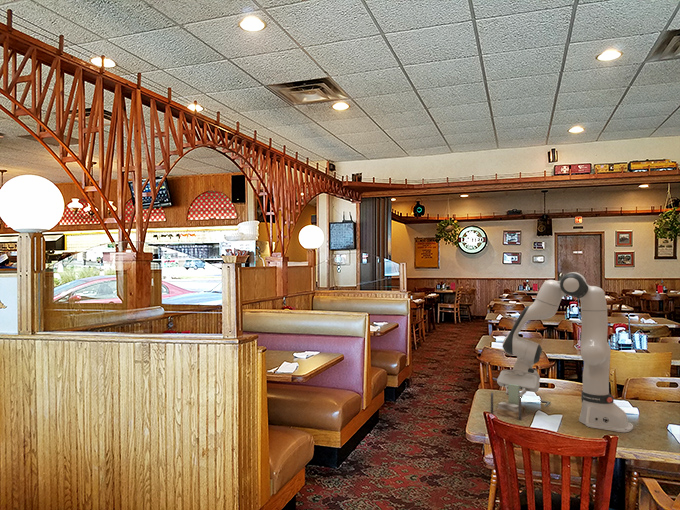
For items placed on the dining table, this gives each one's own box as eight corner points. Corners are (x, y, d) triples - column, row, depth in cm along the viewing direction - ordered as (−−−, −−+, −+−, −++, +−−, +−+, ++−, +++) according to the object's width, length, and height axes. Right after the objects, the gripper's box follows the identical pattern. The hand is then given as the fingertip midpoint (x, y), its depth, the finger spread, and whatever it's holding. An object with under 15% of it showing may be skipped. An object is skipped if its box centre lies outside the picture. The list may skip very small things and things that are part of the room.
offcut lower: (520, 415, 248) (520, 410, 248) (516, 418, 245) (516, 412, 245) (501, 411, 255) (501, 406, 255) (496, 413, 251) (496, 408, 251)
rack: (531, 417, 250) (531, 393, 250) (521, 423, 241) (521, 399, 241) (500, 410, 261) (500, 387, 261) (489, 416, 252) (489, 392, 252)
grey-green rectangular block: (519, 411, 253) (519, 385, 253) (518, 412, 252) (518, 385, 251) (509, 409, 256) (509, 383, 256) (508, 410, 255) (508, 384, 255)
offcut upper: (519, 410, 248) (519, 405, 248) (516, 412, 245) (516, 407, 245) (501, 406, 254) (501, 401, 254) (498, 408, 251) (498, 403, 251)
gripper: (500, 365, 266) (491, 388, 259) (539, 371, 252) (531, 395, 245) (504, 372, 269) (495, 395, 262) (543, 378, 255) (535, 402, 248)
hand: (513, 395), depth 253 cm, fingers closed on grey-green rectangular block, 5 cm apart
